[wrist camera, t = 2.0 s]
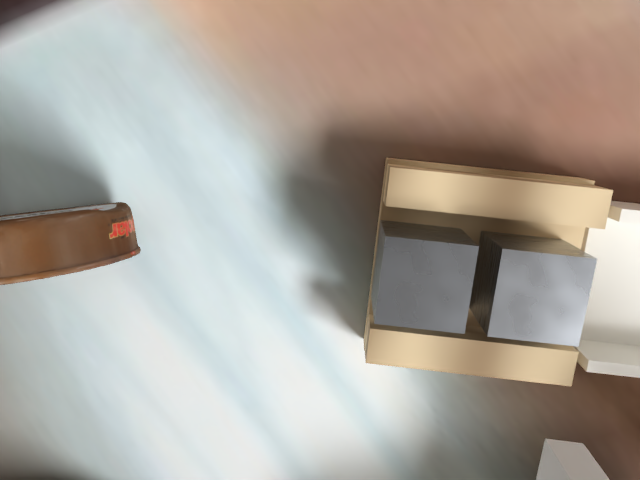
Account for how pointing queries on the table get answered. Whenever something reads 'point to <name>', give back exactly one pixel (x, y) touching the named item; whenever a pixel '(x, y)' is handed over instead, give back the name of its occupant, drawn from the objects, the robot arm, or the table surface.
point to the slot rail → (473, 217)
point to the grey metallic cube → (423, 276)
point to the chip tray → (613, 295)
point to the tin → (64, 241)
